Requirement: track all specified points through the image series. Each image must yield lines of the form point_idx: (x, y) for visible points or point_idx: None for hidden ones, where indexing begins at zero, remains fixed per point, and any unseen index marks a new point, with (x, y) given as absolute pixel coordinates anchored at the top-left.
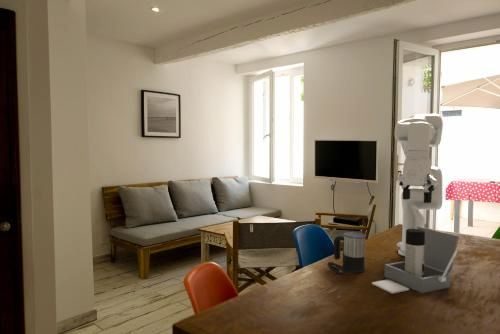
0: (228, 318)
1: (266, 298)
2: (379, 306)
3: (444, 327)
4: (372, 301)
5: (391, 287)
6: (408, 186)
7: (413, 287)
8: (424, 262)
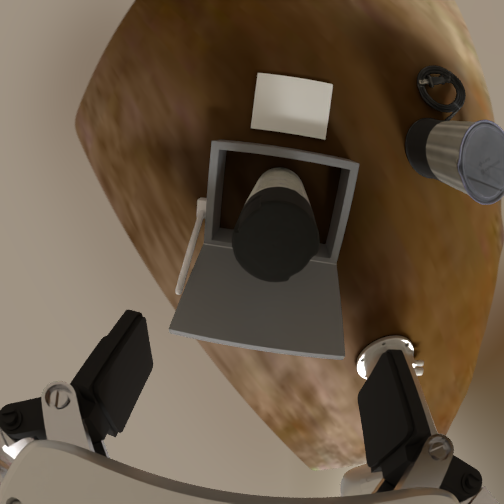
0: None
1: None
2: (223, 3)
3: (108, 52)
4: (250, 7)
5: (279, 95)
6: (386, 488)
7: (247, 142)
8: None
